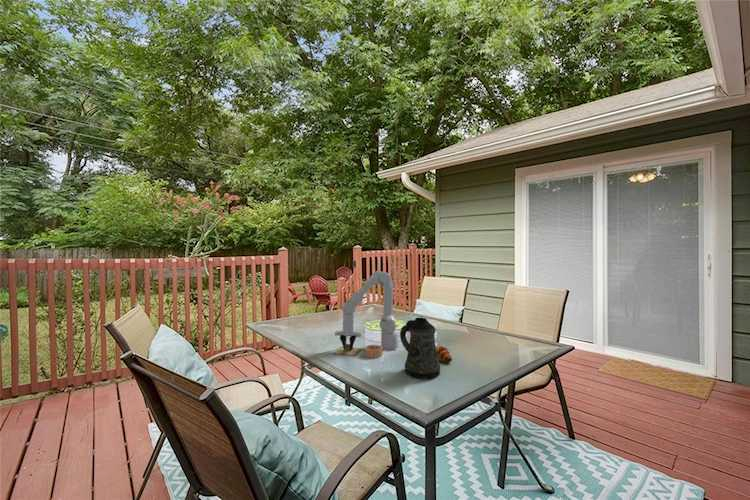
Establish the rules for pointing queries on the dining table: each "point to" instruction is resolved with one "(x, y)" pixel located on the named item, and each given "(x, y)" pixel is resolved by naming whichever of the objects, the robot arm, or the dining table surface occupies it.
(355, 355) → the mat
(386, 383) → the dining table surface
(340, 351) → the lid
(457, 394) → the dining table surface
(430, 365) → the beer stein
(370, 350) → the bowl
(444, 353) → the croissant
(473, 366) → the dining table surface
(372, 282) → the robot arm
